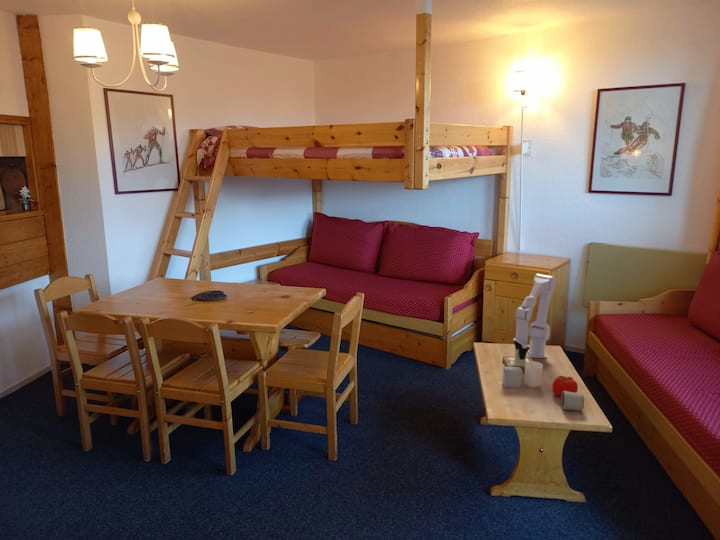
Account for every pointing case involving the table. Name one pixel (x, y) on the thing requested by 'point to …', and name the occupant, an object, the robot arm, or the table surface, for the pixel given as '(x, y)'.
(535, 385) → the white cup
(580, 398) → the grey cylinder
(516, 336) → the robot arm
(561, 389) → the tomato
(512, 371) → the medicine box
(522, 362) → the sage block
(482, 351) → the table surface
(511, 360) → the plinth
